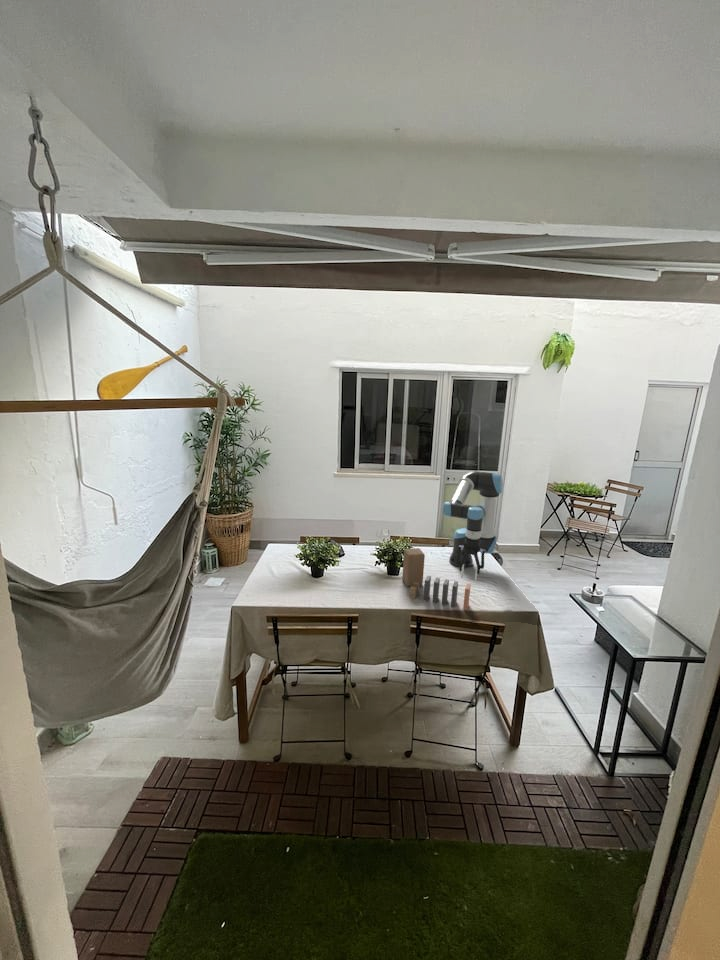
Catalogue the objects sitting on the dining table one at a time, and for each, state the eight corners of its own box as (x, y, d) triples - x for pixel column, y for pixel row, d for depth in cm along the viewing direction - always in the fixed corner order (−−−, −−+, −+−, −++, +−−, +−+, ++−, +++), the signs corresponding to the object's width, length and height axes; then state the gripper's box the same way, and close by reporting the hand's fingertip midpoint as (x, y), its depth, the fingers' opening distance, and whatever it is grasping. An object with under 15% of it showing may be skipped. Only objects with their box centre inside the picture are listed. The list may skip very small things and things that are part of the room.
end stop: (413, 591, 233) (414, 581, 232) (418, 592, 232) (419, 582, 230) (409, 597, 226) (410, 587, 224) (414, 599, 225) (415, 589, 223)
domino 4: (450, 606, 218) (452, 586, 216) (452, 601, 224) (454, 581, 221) (454, 607, 218) (456, 586, 215) (456, 601, 223) (458, 581, 220)
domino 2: (432, 602, 222) (433, 582, 219) (434, 597, 227) (436, 577, 225) (435, 602, 221) (437, 582, 218) (438, 597, 227) (439, 578, 224)
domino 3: (441, 604, 220) (443, 584, 217) (443, 599, 226) (445, 579, 223) (445, 605, 219) (446, 584, 217) (447, 599, 225) (449, 580, 222)
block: (406, 587, 237) (408, 555, 233) (401, 579, 247) (403, 548, 242) (423, 585, 239) (425, 554, 235) (417, 578, 249) (419, 547, 244)
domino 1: (423, 600, 224) (424, 580, 221) (425, 595, 229) (427, 575, 226) (426, 600, 223) (428, 580, 220) (429, 595, 229) (430, 576, 226)
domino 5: (463, 609, 216) (465, 588, 213) (464, 603, 221) (466, 583, 218) (466, 610, 215) (469, 589, 212) (468, 604, 221) (470, 584, 218)
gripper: (452, 536, 209) (449, 577, 215) (491, 542, 202) (487, 585, 207) (455, 531, 216) (451, 571, 221) (493, 537, 209) (488, 578, 214)
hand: (468, 578), depth 214 cm, fingers open, 6 cm apart
